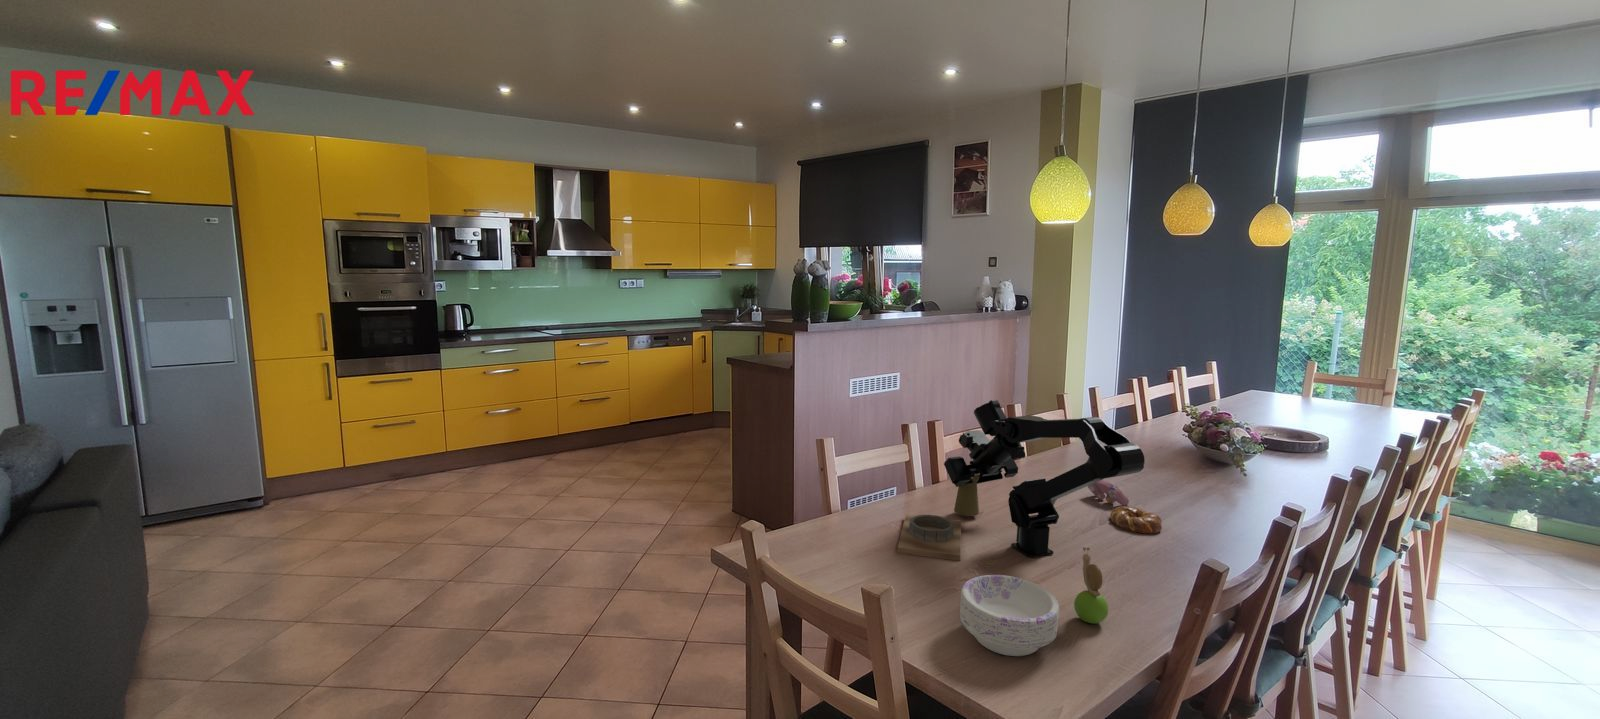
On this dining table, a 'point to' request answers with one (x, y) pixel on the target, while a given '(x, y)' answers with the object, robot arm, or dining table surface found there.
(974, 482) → the cork
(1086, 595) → the snail figurine
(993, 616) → the paper bowls
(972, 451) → the robot arm
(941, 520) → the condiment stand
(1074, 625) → the dining table surface
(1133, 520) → the pretzel
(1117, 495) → the video game controller
